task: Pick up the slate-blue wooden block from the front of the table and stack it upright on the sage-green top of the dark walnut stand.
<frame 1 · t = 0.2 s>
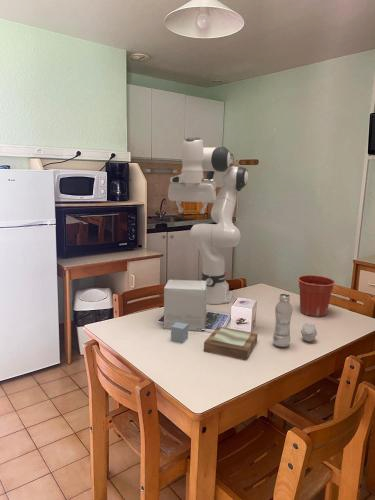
hand: (191, 212, 156), 47 cm above the table, tool pointing down, fingers open, 8 cm apart
supplement box: (185, 324, 162), on the table
flower pot: (313, 313, 179), on the table
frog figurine: (308, 341, 149), on the table
plastic bottle: (280, 345, 144), on the table
walnut stand: (231, 346, 142), on the table
slate block: (179, 339, 147), on the table
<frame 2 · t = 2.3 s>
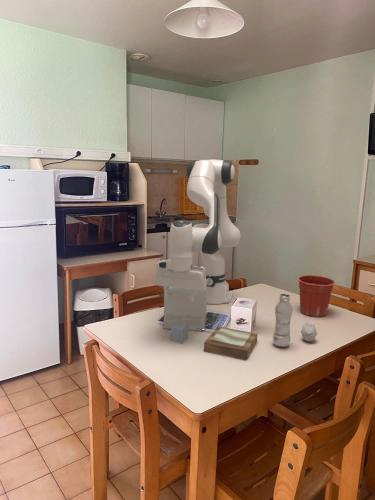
hand: (180, 299, 144), 17 cm above the table, tool pointing down, fingers open, 8 cm apart
nothing on the table moved.
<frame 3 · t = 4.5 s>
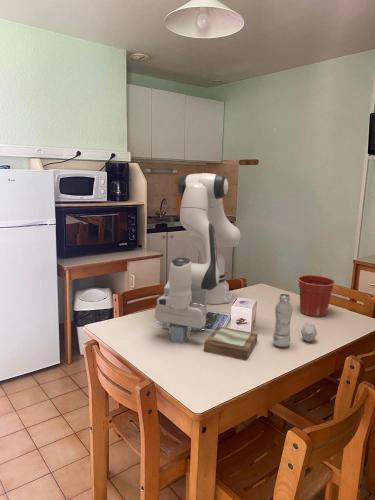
hand: (179, 334, 147), 2 cm above the table, tool pointing down, fingers closed on slate block, 5 cm apart
slate block: (179, 339, 147), on the table, touching gripper
everything else where it was.
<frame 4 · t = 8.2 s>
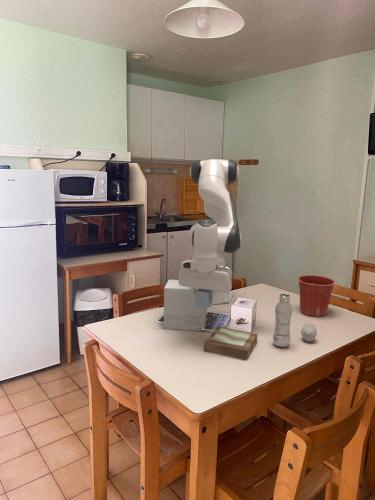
hand: (204, 300, 141), 17 cm above the table, tool pointing down, fingers closed on slate block, 5 cm apart
slate block: (203, 305, 142), point 15 cm above the table, touching gripper
everything else where it was.
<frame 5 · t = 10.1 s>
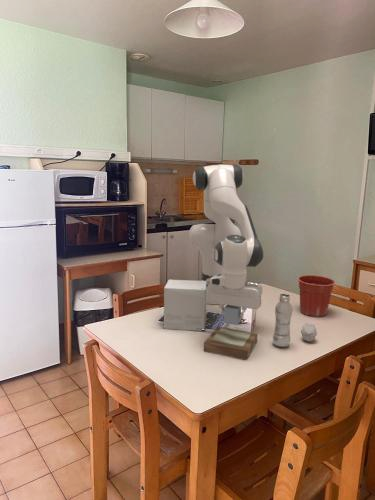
hand: (232, 316, 140), 12 cm above the table, tool pointing down, fingers closed on slate block, 5 cm apart
slate block: (232, 321, 140), point 10 cm above the table, touching gripper
everything else where it was.
when the fingers open (8 cm above the table, at t = 11.7 s): slate block drops 1 cm, resting on walnut stand.
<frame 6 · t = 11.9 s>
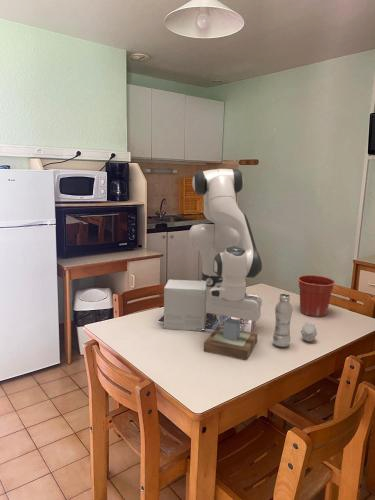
hand: (232, 327, 141), 8 cm above the table, tool pointing down, fingers open, 7 cm apart
slate block: (231, 336, 142), point 4 cm above the table, touching walnut stand
everything else where it was.
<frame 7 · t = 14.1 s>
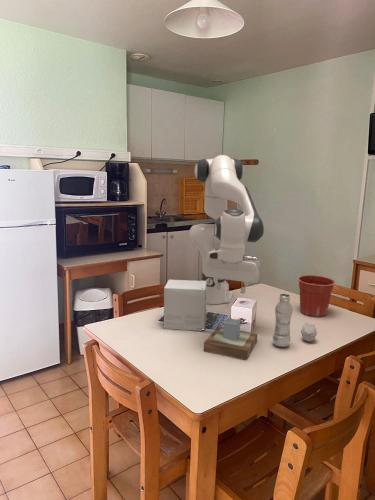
hand: (230, 290, 140), 21 cm above the table, tool pointing down, fingers open, 8 cm apart
nothing on the table moved.
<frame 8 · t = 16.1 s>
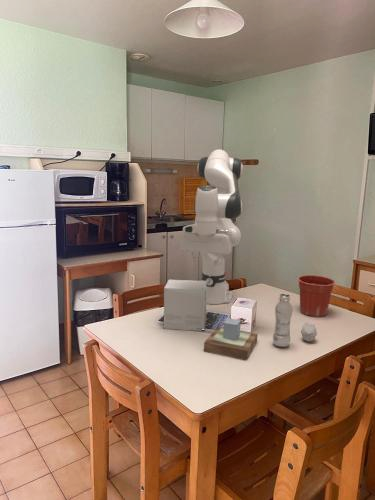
hand: (205, 263, 148), 29 cm above the table, tool pointing down, fingers open, 8 cm apart
nothing on the table moved.
at the end: slate block inside the target area on the walnut stand (0.0 cm from its centre), point 4.0 cm above the walnut stand's base; slate block tilted 0°; slate block touching walnut stand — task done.
